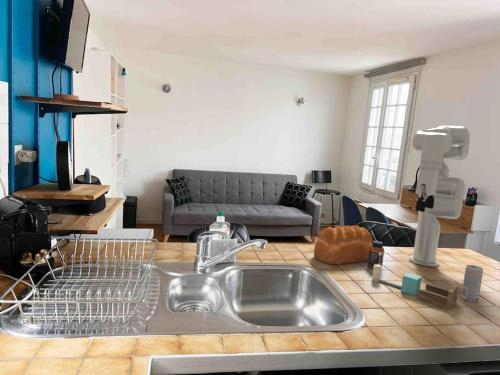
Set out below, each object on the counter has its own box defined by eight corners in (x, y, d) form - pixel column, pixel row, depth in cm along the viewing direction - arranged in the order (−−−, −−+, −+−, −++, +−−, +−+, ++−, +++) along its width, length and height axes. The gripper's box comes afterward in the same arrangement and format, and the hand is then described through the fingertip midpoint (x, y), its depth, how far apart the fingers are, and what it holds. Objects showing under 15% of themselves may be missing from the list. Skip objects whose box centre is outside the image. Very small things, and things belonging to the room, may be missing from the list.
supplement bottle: (382, 270, 158) (386, 244, 156) (368, 268, 159) (371, 242, 157) (380, 266, 164) (384, 240, 162) (366, 264, 165) (369, 239, 163)
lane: (425, 292, 138) (427, 276, 137) (456, 301, 131) (458, 285, 131) (417, 299, 131) (420, 282, 130) (449, 309, 125) (452, 292, 124)
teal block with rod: (369, 281, 145) (371, 266, 144) (374, 278, 149) (376, 263, 148) (415, 295, 134) (417, 279, 133) (419, 292, 138) (421, 276, 137)
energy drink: (476, 298, 136) (481, 266, 134) (479, 303, 131) (485, 271, 129) (459, 295, 138) (464, 263, 136) (462, 300, 133) (467, 268, 131)
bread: (310, 256, 170) (313, 223, 168) (355, 252, 182) (358, 221, 180) (329, 266, 158) (333, 231, 156) (376, 261, 170) (380, 228, 168)
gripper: (427, 163, 152) (422, 205, 155) (412, 165, 140) (406, 210, 143) (447, 166, 147) (441, 208, 150) (433, 168, 135) (427, 214, 138)
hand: (424, 209), depth 146 cm, fingers open, 9 cm apart
